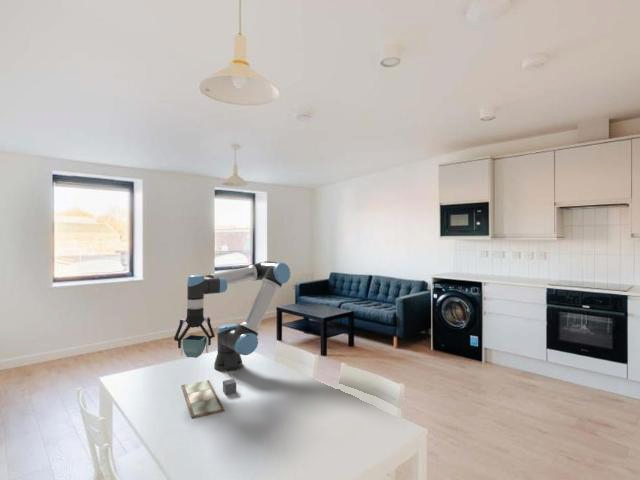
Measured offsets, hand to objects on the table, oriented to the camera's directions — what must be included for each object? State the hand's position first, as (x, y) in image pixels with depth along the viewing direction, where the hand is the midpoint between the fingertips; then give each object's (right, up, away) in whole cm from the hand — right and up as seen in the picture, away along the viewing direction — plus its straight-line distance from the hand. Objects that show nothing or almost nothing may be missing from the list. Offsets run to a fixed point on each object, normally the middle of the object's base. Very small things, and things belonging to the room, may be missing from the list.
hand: (194, 353), depth 173 cm
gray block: (+18, -17, -4) cm, 25 cm away
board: (+7, -17, -10) cm, 21 cm away
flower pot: (0, -2, 0) cm, 2 cm away
